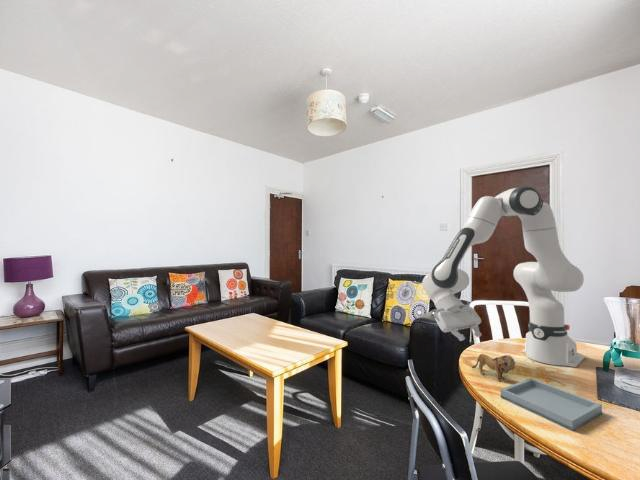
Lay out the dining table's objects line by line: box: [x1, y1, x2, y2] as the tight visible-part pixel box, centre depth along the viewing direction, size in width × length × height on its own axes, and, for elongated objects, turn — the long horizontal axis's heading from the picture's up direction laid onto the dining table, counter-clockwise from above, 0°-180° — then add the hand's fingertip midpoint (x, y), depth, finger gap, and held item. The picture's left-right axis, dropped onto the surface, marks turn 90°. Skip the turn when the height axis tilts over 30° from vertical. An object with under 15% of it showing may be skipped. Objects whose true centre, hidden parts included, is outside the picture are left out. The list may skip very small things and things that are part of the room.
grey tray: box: [500, 377, 603, 432], centre depth 84 cm, size 16×18×2 cm
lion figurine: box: [471, 353, 516, 383], centre depth 103 cm, size 15×5×9 cm, turn 34°
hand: (471, 338), depth 111 cm, fingers open, 8 cm apart
